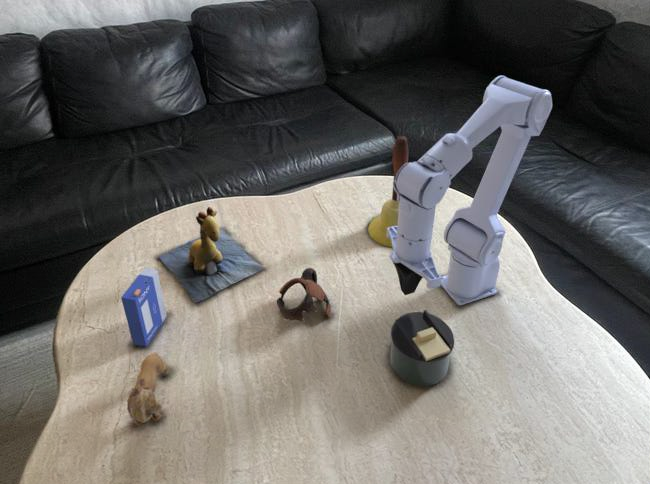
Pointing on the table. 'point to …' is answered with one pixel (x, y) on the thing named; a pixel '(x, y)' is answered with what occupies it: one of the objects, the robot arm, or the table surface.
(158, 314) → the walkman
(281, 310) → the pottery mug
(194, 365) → the table surface
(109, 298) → the table surface
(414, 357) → the canister
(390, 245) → the handbell
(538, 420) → the table surface
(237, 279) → the stuffed giraffe
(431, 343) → the slider
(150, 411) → the lion figurine
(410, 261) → the robot arm
